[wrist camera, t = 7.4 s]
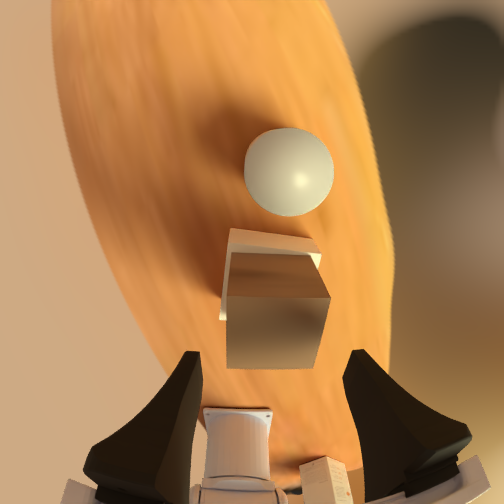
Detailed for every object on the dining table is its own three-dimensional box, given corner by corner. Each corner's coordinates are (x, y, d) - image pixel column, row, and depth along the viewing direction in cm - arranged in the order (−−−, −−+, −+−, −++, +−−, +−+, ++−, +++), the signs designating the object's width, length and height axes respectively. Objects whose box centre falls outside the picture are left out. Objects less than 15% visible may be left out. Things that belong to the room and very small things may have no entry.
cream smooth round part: (309, 196, 19) (329, 218, 14) (243, 193, 19) (242, 214, 14) (314, 132, 17) (337, 132, 12) (246, 127, 17) (245, 125, 12)
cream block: (294, 304, 23) (300, 327, 20) (222, 296, 22) (219, 319, 20) (311, 237, 20) (321, 254, 18) (230, 226, 20) (227, 242, 17)
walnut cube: (300, 318, 20) (312, 368, 15) (230, 316, 19) (226, 368, 15) (310, 255, 18) (330, 297, 13) (231, 252, 17) (226, 295, 13)
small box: (298, 464, 37) (304, 514, 28) (326, 454, 36) (336, 506, 26) (319, 472, 40) (326, 515, 30) (345, 462, 38) (354, 507, 29)
